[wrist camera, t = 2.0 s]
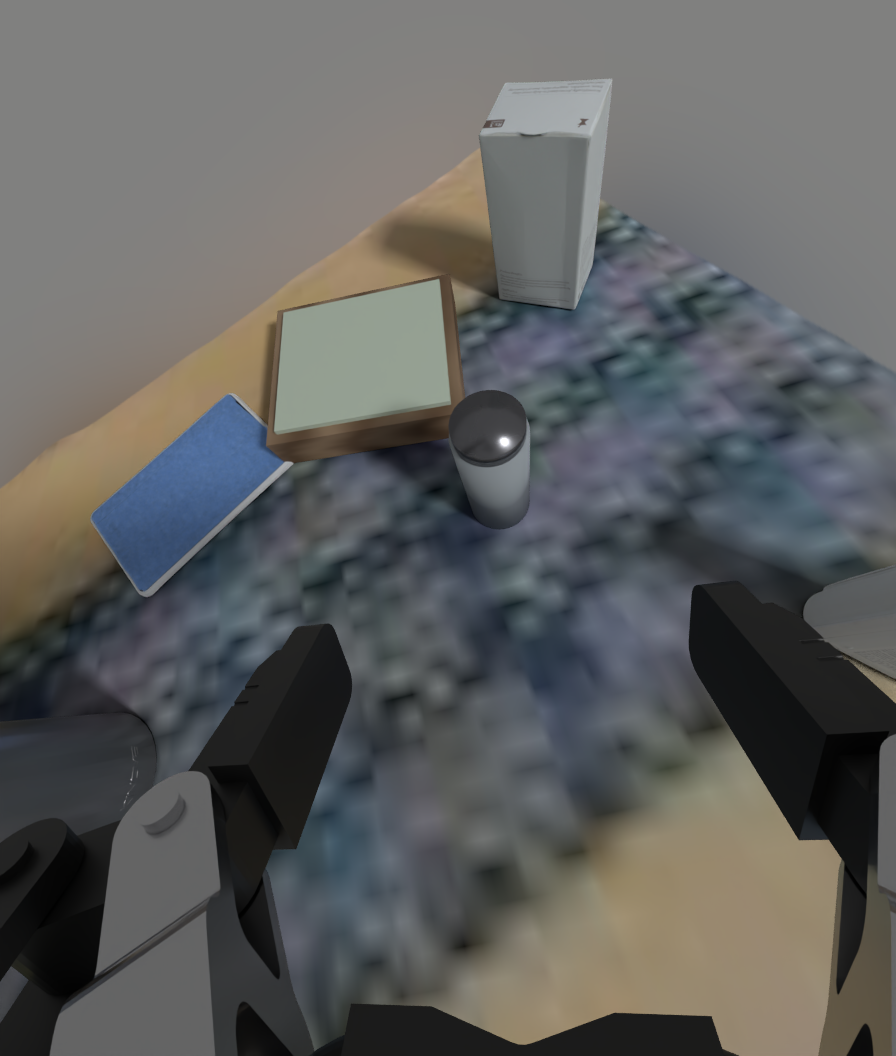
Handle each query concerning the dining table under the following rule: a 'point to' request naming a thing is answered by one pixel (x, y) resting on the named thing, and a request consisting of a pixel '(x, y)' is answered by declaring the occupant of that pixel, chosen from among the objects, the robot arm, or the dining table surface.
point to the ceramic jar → (492, 456)
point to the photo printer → (859, 618)
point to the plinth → (365, 372)
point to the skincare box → (545, 186)
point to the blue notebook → (188, 493)
